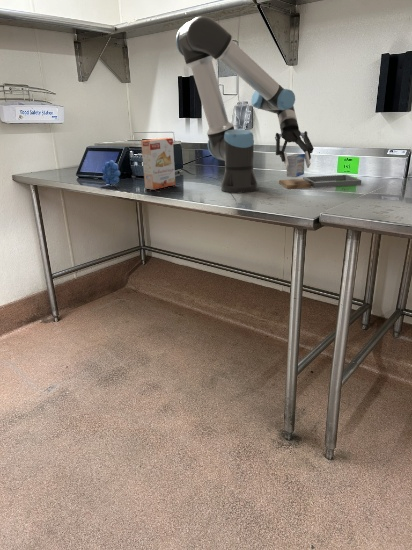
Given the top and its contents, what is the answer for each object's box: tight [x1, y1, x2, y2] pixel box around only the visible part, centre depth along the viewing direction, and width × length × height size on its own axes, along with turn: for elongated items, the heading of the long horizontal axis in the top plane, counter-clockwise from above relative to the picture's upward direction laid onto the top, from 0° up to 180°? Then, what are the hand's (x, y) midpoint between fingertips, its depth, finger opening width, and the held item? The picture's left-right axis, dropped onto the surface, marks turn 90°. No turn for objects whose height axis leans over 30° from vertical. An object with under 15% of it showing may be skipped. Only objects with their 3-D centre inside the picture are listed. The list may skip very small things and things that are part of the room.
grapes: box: [101, 159, 121, 185], centre depth 190 cm, size 12×7×12 cm, turn 54°
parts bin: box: [302, 174, 362, 189], centre depth 176 cm, size 20×15×2 cm
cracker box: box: [140, 137, 176, 189], centre depth 179 cm, size 14×6×21 cm, turn 141°
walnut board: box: [278, 178, 312, 190], centre depth 175 cm, size 10×13×2 cm
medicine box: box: [286, 153, 306, 178], centre depth 172 cm, size 8×4×9 cm, turn 143°
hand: (298, 166), depth 169 cm, fingers closed on medicine box, 8 cm apart
